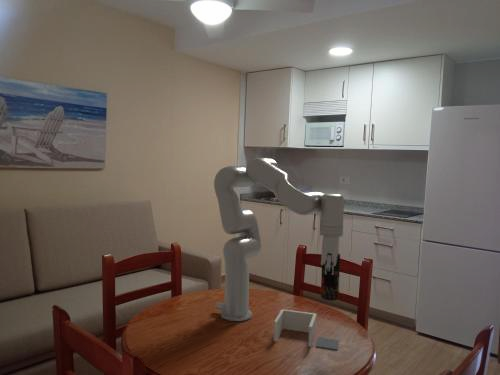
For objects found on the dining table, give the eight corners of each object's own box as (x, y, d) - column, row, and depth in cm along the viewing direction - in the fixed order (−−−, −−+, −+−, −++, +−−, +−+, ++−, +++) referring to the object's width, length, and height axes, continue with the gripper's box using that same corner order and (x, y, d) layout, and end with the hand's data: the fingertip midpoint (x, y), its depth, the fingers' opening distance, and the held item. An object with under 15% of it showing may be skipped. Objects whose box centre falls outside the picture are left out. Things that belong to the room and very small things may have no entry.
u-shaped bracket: (273, 341, 135) (274, 321, 135) (281, 327, 147) (281, 309, 146) (311, 347, 131) (311, 326, 131) (316, 332, 143) (316, 313, 142)
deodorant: (338, 301, 129) (340, 256, 128) (320, 299, 130) (321, 255, 129) (338, 295, 135) (339, 252, 134) (321, 293, 136) (322, 251, 135)
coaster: (316, 347, 131) (316, 345, 131) (318, 338, 138) (318, 337, 138) (337, 350, 129) (337, 349, 129) (338, 341, 136) (338, 340, 136)
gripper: (323, 226, 140) (321, 275, 142) (317, 234, 124) (315, 289, 125) (344, 227, 138) (343, 277, 139) (341, 235, 122) (339, 292, 123)
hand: (330, 282), depth 132 cm, fingers closed on deodorant, 5 cm apart
